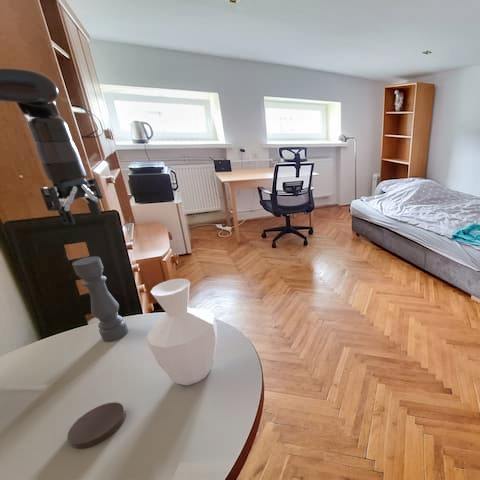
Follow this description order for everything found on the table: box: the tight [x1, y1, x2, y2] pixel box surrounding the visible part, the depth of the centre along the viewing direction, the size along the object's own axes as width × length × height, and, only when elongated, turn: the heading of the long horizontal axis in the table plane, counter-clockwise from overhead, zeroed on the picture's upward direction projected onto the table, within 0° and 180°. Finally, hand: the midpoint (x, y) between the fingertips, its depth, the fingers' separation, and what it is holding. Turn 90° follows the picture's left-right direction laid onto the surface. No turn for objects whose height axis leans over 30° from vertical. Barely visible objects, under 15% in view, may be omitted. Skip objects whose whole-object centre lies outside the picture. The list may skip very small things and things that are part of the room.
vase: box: [145, 278, 218, 386], centre depth 69 cm, size 14×14×25 cm
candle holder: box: [71, 256, 129, 343], centre depth 82 cm, size 6×6×25 cm
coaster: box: [67, 401, 127, 450], centre depth 60 cm, size 9×9×2 cm
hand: (84, 219), depth 80 cm, fingers open, 8 cm apart
